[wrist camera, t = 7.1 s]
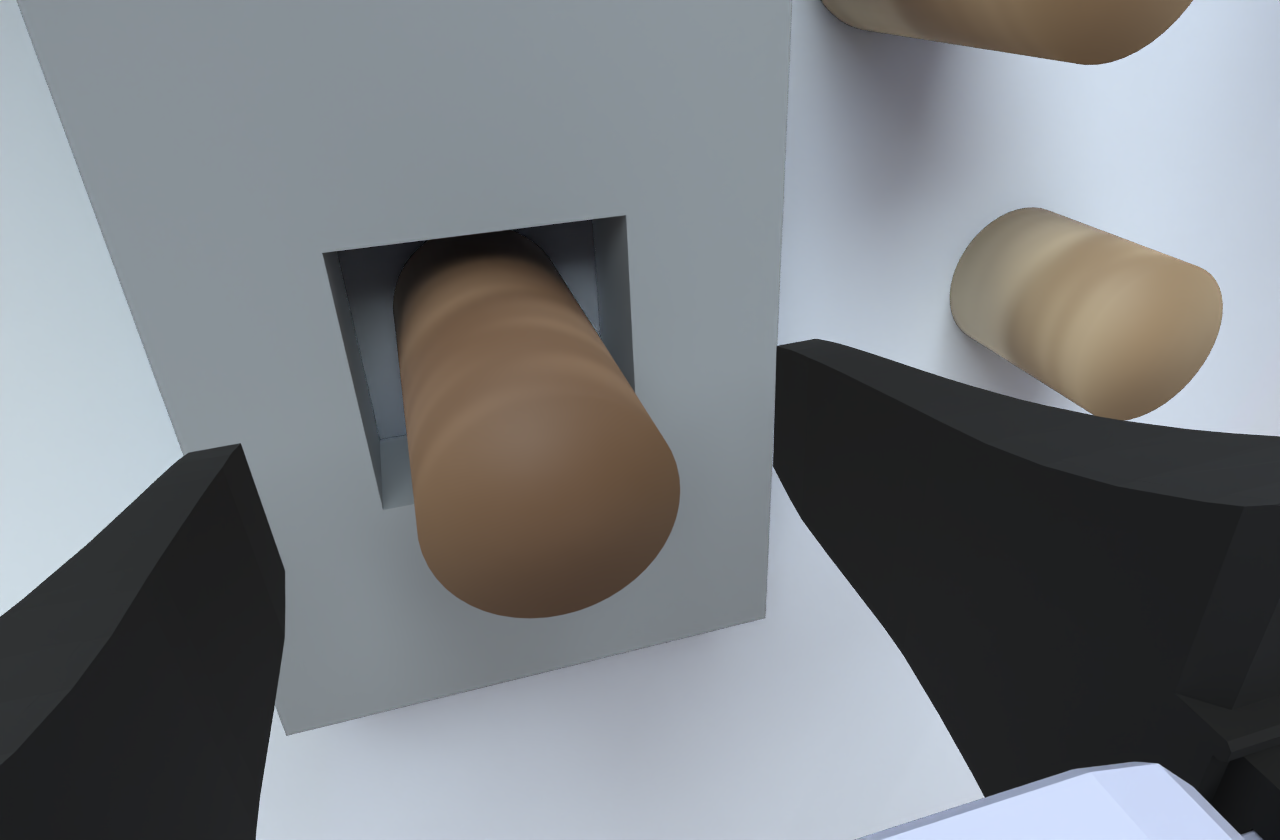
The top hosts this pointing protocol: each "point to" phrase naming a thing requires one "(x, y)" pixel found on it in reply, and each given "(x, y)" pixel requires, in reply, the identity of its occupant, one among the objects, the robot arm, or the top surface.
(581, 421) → the tall dowel
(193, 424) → the hole board
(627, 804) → the top surface
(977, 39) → the mid dowel
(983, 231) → the short dowel
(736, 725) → the top surface
